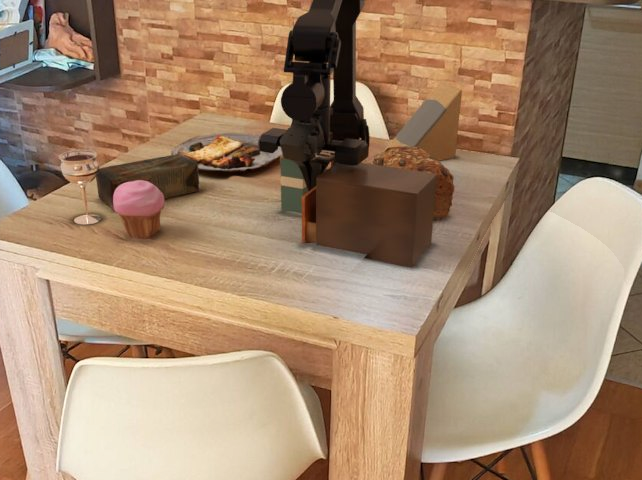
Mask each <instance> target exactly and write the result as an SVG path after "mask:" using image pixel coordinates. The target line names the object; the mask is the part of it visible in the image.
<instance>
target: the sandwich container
mask: <svg viewBox="0 0 642 480" xmlns="http://www.w3.org/2000/svg"><path fill="white" fill-rule="evenodd" d="M462 95H463V90H462V88H459V87H458V86H455V85H452V84H450V83H447V82H445V81H442V80H439V81H438V82H437V84H436V86H434V88H433V89H432V90H431V92H430V93H429V95H428V96H427V97H426V98H425V99H424V101H423V102H422V103H421V104H420V106H419V107H418V108H417V109H416V110H415V112H414V113H413V114H412V116H411V117H409V119H408V120H407V122H406V123H405V124H404V125H403V127H402V128H401V129H400V130H399V132H397V134H396V135H395V136H394V137H393V139H392V140H391V141H390V142H389V143H388V145H387V146H386V147H385V148H384V149H383V151H385V150H386V149H387V148H389V147H390V148H391V147H397V146H402V147H404V146H409V147H419V148H420V149H423V150H424V151H425V152H427V153H428V154H429V155H431V156H432V157H434V158H435V159H436V160H438V161H443V160H449V159H454V158H456V150H457V141H458V133H459V125H460V115H461V114H460V113H461V104H462Z"/></svg>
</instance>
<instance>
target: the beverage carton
mask: <svg viewBox="0 0 642 480" xmlns="http://www.w3.org/2000/svg"><path fill="white" fill-rule="evenodd" d="M95 179H96V180H95V181H96V188H97V195H98V198H99V199H100V200H101V201H102V202H104V203H105V204H106V205H107V206H108V207H110V208H111V209H112V210H113V211H115V210H114V205H113V195H114V192H115V190H116V188H117V187H118V186H120V185H121V184H123V183H126V182H132V181H136V180H143V181H148V182H150V183H152V184H153V185H154V186H156V187H157V188H158V189H159V190H160V191H161V192H162V194H163V196H164V199H168V198H173V197H177V196H183V195H187V194H190V193H196V192H199V191H200V177H199V170H198V164H197V163H196V162H194V161H192V160H190V159H189V158H187V157H186V156H184V155H183V154H175V155H172V154H171V155H166V156H159V157H153V158H147V159H142V160H137V161H131V162H125V163H120V164H115V165H109V166H103V167H101V168H100V167H99V172H98V175H97V176H96V177H95Z"/></svg>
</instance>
